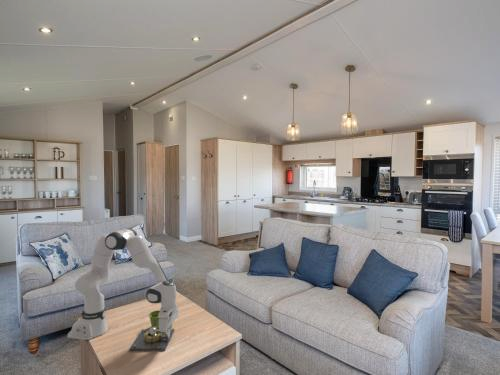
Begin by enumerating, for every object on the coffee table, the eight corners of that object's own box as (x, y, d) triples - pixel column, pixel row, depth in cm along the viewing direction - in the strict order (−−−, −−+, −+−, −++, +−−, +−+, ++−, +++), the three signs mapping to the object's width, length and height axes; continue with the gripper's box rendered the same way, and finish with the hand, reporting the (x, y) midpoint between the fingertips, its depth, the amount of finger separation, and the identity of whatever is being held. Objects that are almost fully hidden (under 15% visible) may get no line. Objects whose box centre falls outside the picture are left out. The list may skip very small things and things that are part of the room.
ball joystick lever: (140, 341, 169) (140, 331, 169) (150, 332, 179) (149, 322, 179) (165, 344, 166) (165, 333, 166) (173, 334, 176) (173, 324, 176)
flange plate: (129, 351, 163) (129, 337, 163) (142, 331, 183) (142, 320, 183) (165, 350, 163) (165, 337, 163) (174, 331, 183) (174, 319, 183)
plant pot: (159, 331, 184) (159, 317, 183) (146, 329, 185) (145, 316, 185) (166, 323, 193) (166, 310, 192) (153, 322, 195) (153, 309, 194)
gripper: (170, 300, 184) (171, 322, 184) (156, 316, 163) (157, 340, 164) (180, 301, 183) (180, 322, 183) (167, 317, 162) (167, 341, 163)
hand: (169, 331), depth 173 cm, fingers closed
